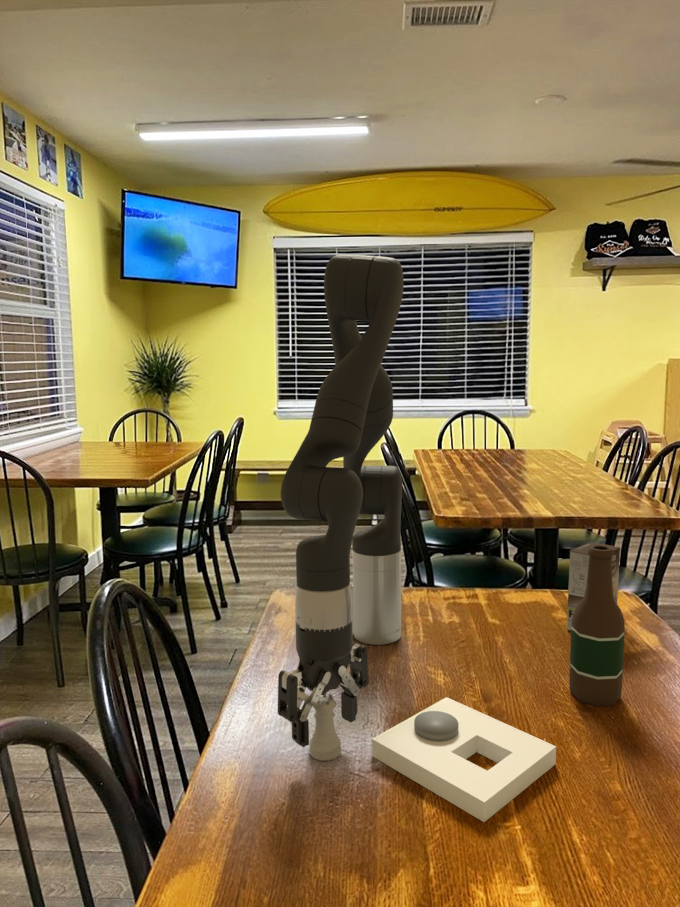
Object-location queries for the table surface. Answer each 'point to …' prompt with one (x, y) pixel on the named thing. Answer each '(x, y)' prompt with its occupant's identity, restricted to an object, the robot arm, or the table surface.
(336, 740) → the rook chess piece
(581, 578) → the coffee box
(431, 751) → the carrier plate
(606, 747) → the table surface
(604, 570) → the beer bottle
